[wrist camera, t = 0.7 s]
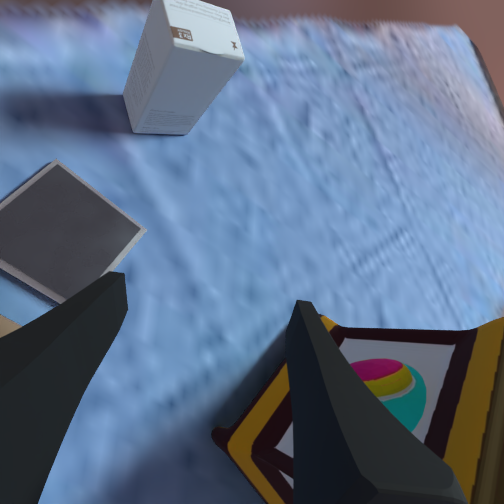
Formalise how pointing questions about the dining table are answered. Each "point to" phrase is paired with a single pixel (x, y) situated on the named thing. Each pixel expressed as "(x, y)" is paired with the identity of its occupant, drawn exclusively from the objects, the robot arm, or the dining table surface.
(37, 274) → the ink pad
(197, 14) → the skincare box
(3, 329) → the stamp
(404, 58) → the dining table surface
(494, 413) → the decorative lantern
